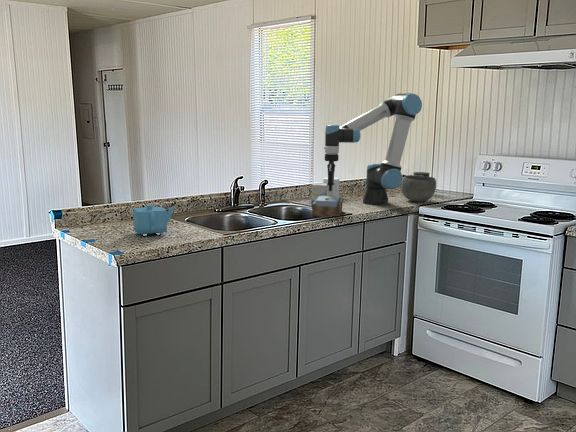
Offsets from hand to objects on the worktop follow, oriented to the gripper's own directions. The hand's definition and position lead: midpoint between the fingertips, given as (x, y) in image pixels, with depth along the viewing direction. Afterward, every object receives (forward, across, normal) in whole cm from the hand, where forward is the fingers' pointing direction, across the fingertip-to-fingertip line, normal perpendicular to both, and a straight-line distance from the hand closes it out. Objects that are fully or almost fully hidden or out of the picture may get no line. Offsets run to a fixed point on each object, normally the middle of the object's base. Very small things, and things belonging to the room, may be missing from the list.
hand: (330, 196), depth 310 cm
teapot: (+7, +81, -67) cm, 105 cm away
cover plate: (+2, +13, 0) cm, 14 cm away
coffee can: (+7, -72, +52) cm, 89 cm away
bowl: (+7, -41, +49) cm, 64 cm away
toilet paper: (+7, -42, -4) cm, 42 cm away
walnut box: (+7, +13, 0) cm, 15 cm away
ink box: (+7, -16, -8) cm, 19 cm away
